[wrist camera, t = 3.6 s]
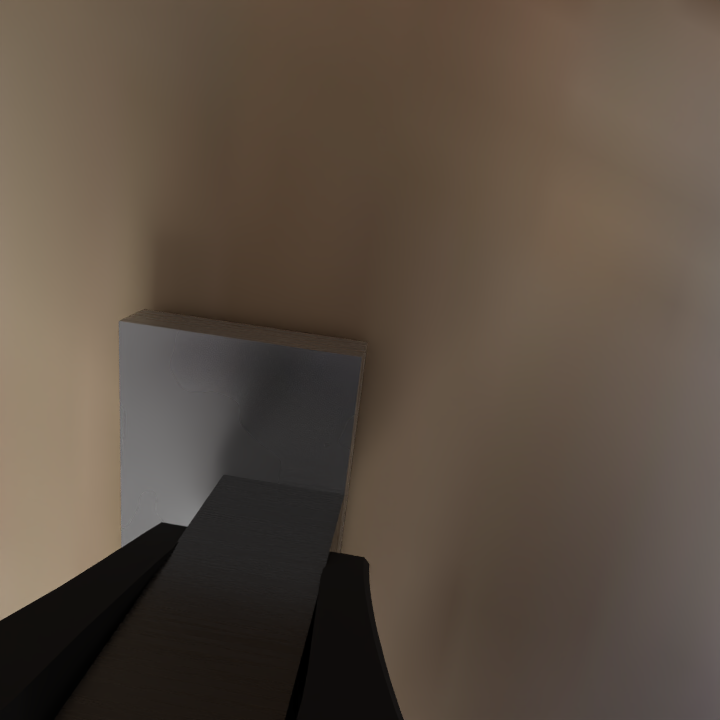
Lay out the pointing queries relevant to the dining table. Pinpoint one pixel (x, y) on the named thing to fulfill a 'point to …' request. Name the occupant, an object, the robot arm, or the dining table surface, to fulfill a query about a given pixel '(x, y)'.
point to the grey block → (225, 515)
